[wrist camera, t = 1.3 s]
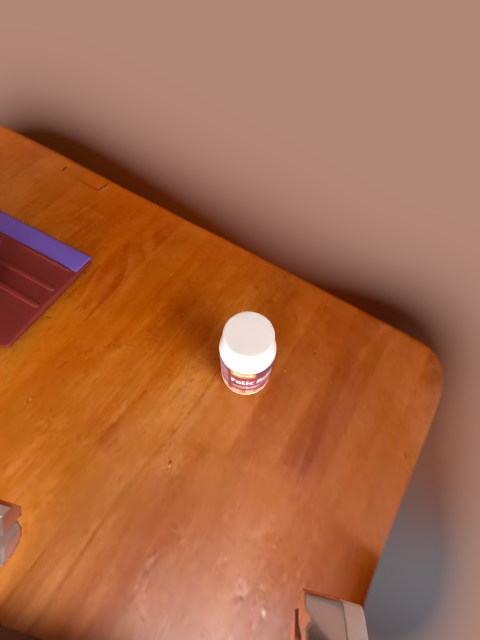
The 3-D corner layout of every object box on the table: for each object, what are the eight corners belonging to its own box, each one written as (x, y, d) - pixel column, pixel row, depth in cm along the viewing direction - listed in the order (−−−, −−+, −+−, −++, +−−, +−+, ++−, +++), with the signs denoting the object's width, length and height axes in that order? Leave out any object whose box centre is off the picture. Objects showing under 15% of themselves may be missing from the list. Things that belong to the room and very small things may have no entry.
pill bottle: (230, 402, 32) (228, 371, 25) (215, 357, 34) (209, 315, 27) (277, 386, 33) (289, 352, 25) (260, 343, 35) (267, 300, 28)
